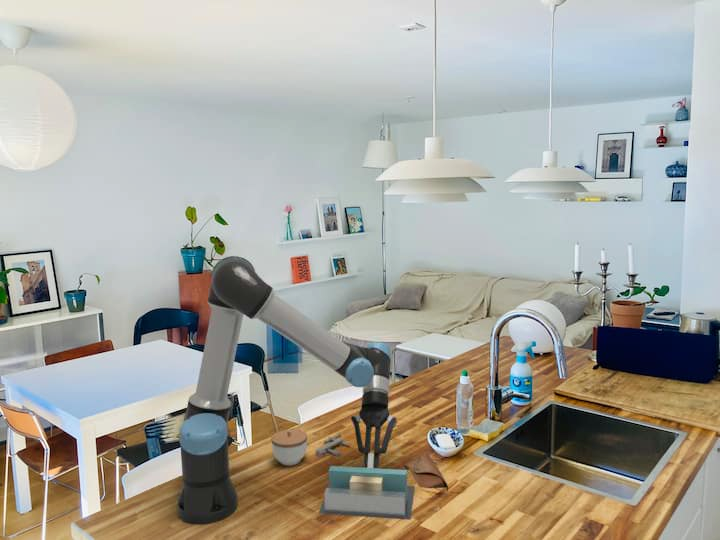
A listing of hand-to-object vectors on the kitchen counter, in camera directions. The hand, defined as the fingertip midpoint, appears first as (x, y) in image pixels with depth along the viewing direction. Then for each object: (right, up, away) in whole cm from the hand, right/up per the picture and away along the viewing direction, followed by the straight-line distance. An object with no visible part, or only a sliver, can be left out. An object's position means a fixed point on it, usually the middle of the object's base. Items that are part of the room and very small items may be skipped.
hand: (370, 479), depth 152 cm
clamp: (-11, -2, +32) cm, 34 cm away
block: (-1, -5, -5) cm, 7 cm away
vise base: (0, -6, -1) cm, 6 cm away
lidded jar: (-24, -3, +23) cm, 34 cm away
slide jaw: (0, -4, -2) cm, 5 cm away
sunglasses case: (+16, -4, +12) cm, 20 cm away
